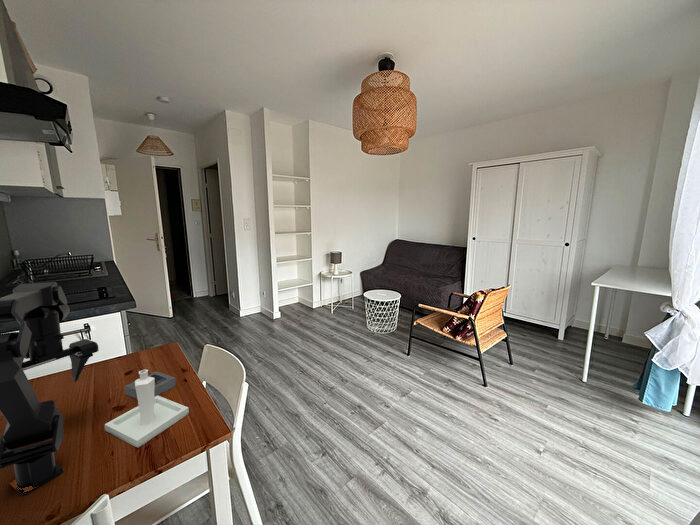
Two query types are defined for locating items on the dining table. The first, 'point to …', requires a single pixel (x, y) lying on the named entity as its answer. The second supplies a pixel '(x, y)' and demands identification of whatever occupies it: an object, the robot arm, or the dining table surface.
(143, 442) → the tray
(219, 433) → the dining table surface
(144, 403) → the perfume bottle
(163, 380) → the bottle collar
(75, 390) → the dining table surface
